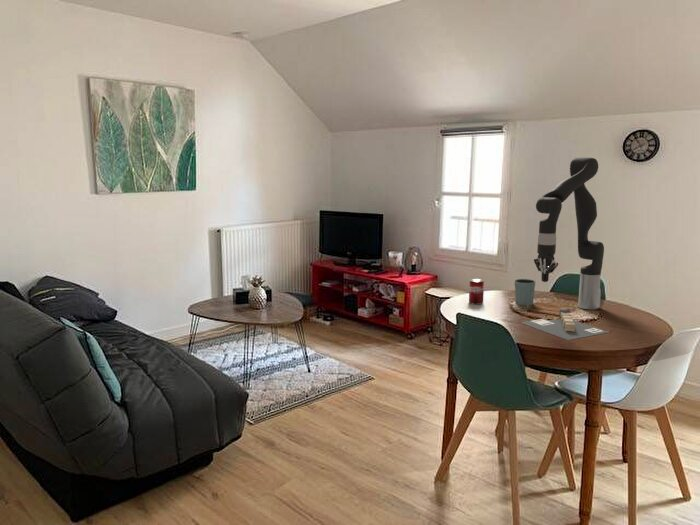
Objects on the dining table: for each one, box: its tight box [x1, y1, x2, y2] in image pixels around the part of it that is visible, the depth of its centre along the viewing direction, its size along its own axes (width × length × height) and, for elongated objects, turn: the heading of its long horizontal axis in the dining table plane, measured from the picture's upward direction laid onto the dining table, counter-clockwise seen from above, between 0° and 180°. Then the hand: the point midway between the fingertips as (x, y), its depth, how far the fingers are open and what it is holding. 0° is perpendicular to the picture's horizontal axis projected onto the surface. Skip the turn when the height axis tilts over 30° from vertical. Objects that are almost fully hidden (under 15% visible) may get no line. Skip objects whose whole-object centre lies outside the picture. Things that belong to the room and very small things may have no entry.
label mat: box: [519, 318, 610, 341], centre depth 235 cm, size 24×28×1 cm
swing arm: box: [558, 307, 575, 331], centre depth 239 cm, size 23×4×4 cm, turn 165°
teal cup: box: [514, 278, 536, 306], centre depth 275 cm, size 10×10×12 cm
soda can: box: [468, 278, 485, 305], centre depth 277 cm, size 7×7×12 cm
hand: (544, 281), depth 239 cm, fingers closed
